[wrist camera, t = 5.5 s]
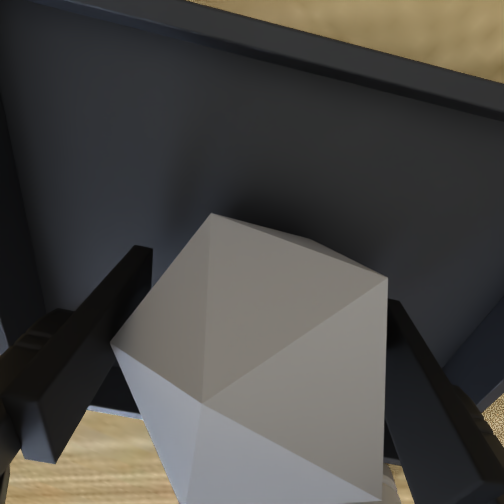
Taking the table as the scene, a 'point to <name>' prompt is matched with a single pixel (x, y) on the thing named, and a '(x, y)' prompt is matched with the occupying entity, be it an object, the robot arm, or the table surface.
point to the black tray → (245, 165)
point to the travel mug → (386, 489)
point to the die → (261, 369)
